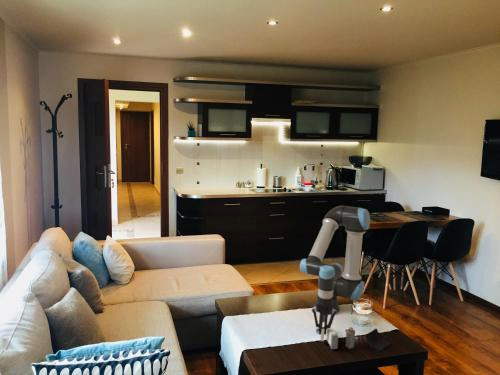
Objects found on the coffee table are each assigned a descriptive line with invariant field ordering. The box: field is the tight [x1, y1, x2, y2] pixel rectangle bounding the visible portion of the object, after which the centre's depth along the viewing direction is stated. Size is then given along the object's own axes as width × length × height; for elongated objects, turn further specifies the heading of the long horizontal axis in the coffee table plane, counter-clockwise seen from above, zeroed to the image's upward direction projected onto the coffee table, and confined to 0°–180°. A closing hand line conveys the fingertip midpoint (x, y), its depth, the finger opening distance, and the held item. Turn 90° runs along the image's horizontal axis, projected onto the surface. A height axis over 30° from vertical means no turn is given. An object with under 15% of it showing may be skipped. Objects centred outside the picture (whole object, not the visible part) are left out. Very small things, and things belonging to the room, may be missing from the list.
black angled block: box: [364, 328, 392, 353], centre depth 214 cm, size 12×7×10 cm
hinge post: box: [315, 314, 325, 336], centre depth 224 cm, size 6×6×10 cm
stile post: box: [344, 326, 356, 349], centre depth 210 cm, size 3×4×10 cm
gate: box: [322, 322, 339, 350], centre depth 214 cm, size 3×15×7 cm, turn 10°
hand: (321, 339), depth 213 cm, fingers closed
